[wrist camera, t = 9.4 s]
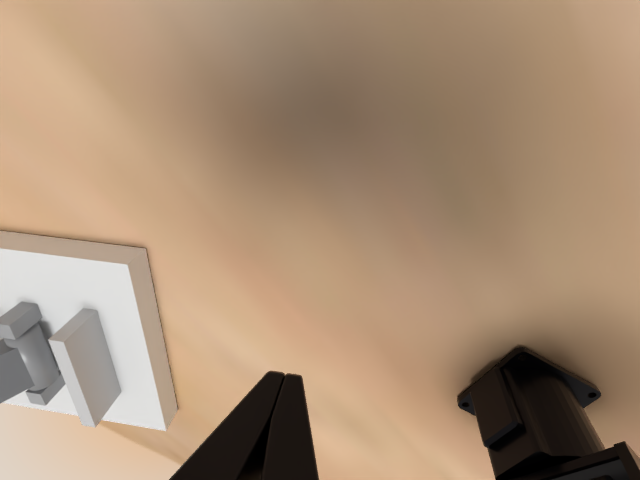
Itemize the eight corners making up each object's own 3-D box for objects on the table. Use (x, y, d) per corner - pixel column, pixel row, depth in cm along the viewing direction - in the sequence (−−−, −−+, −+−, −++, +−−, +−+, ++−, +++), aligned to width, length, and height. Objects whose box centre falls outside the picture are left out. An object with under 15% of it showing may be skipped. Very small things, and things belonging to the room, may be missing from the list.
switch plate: (145, 248, 24) (94, 294, 20) (177, 409, 32) (145, 468, 28) (-72, 221, 26) (-164, 258, 21) (8, 381, 33) (-47, 432, 29)
